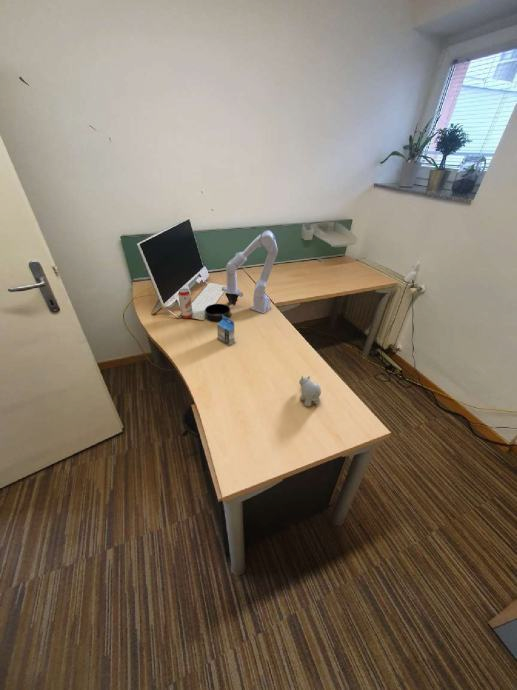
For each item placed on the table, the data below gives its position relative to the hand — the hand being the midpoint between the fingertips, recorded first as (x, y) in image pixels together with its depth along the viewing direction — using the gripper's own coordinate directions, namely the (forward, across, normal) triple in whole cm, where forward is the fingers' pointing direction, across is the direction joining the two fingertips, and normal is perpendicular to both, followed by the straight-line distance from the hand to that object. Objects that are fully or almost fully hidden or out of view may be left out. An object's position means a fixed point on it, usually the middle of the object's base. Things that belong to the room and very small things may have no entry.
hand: (232, 304), depth 165 cm
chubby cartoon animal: (+2, +70, -39) cm, 80 cm away
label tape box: (+2, +20, -30) cm, 36 cm away
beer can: (+2, -13, -25) cm, 28 cm away
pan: (+2, 0, -8) cm, 9 cm away
